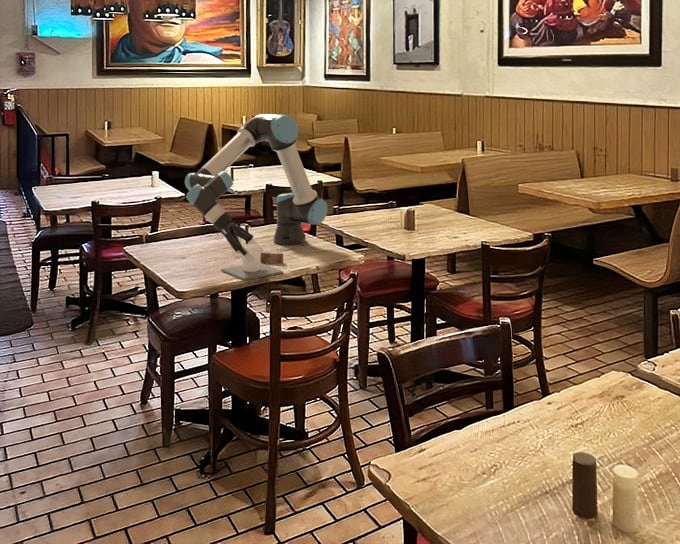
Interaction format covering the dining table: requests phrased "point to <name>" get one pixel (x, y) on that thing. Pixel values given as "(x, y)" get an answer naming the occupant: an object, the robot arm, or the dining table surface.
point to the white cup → (255, 263)
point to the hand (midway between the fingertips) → (257, 256)
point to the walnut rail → (272, 257)
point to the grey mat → (244, 275)
